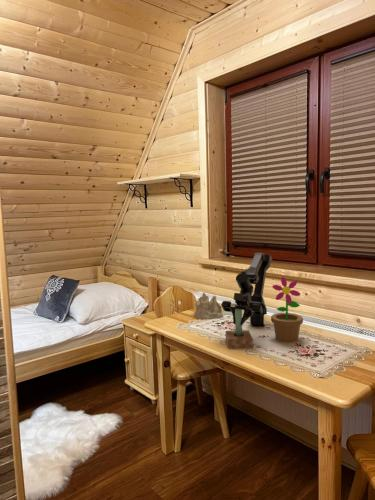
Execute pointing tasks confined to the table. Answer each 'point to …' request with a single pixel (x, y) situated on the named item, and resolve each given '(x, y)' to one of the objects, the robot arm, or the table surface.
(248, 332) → the hole block
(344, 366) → the table surface
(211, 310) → the ceramic cottage
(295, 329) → the flowerpot
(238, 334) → the peg
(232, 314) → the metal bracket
